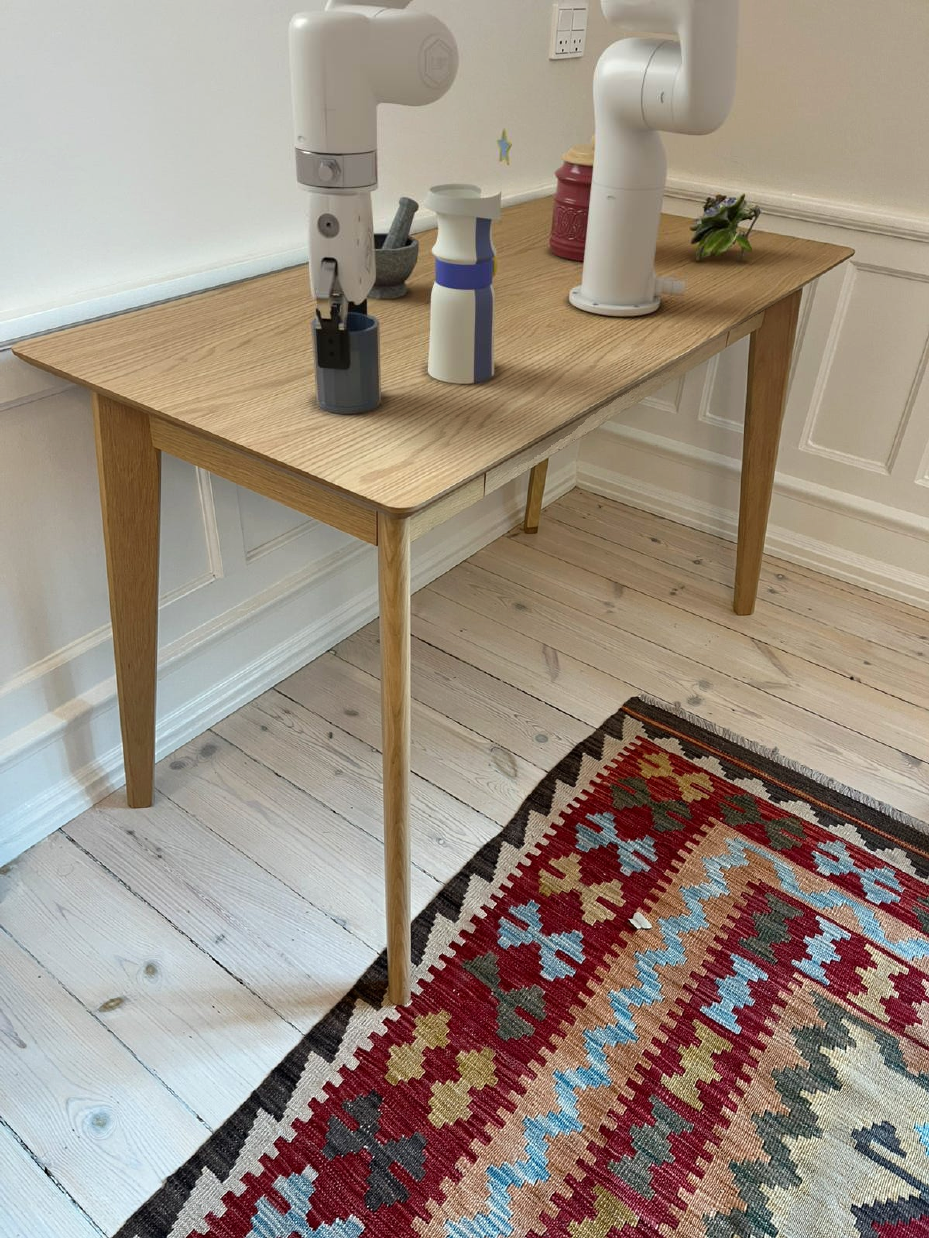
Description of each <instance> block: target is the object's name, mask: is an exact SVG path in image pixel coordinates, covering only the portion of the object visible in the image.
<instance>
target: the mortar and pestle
mask: <svg viewBox="0 0 929 1238" xmlns="http://www.w3.org/2000/svg"><path fill="white" fill-rule="evenodd" d="M419 207H420V205H419V203H418V202H417V201H415V200H414V199H413V198H410V197H407V196H401V197H400V198H399V200H398V209H397V211H396V213H395V216H394V218H393V221H392V222H391V226H390V228H389V231H388V232H374V249H375V267H376V279H375V283H374V285H373V287H372V288H371V290H370V292H369V293H368V295H367V297H366V298H373V299H378V300H385V299H386V300H387V299H389V300H390V299H391V300H392V299H397V298H401V297H404V296H405V295H406V293H407V284H406V281H407V280H408V279H409V277H411V276H412V273H413V271H414V269H415V267H416V265H417V263H418V257H419V252H420V251H419V250H420V249H419V248H420V247H419V246H420V244H419V243H420V242H419V240H418V239H416V238H414V237H412V236H410V232H411V229H412V224H413V221H414V218H415V215H416V212H418V211H419Z"/></svg>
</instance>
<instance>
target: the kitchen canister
mask: <svg viewBox="0 0 929 1238" xmlns="http://www.w3.org/2000/svg"><path fill="white" fill-rule="evenodd" d="M594 152H595V133H594V134H593V135H592V137H591V140H590V144H579V145H574V146H572V147H571V148H570V149H569V150H567V151H565V152H564V153H563V154H562V155H561V156H560V157H561V160H562V161H563V163H562V165H561V166H560V167H558V168H557V169H556V170H555V171H554V176H555V178H556V180H557V183H556V188H555V189H556V190H555V192H554V193H553V195H552V198H553V202H552V203H553V205H552V218H551V230H550V233H549V241H548V242H549V247H550V250H549V251H550V252H551V253H552V254H554V255H555V256H557V257H560V258H563V259H567V260H573V261H578V262H584V255H585V245H586V235H587V225H588V215H589V204H590V194H591V184H592V175H593V165H594Z"/></svg>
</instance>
